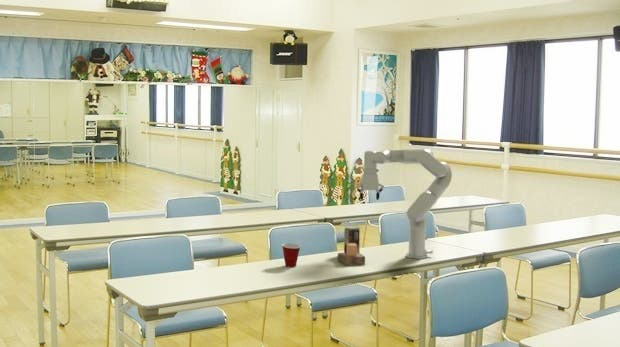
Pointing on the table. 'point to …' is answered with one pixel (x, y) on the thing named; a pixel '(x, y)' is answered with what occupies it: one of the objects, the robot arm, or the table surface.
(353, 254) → the orange block
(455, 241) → the table surface
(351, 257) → the walnut block
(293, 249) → the plastic cup
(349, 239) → the coffee box
